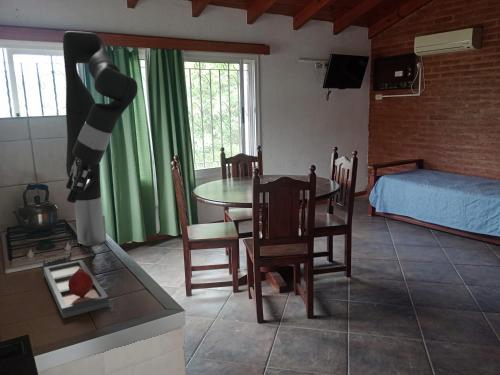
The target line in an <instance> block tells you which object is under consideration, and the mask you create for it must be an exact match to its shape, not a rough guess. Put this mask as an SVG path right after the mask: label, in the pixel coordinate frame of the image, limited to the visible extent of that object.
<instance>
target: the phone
mask: <svg viewBox="0 0 500 375" xmlns="http://www.w3.org/2000/svg"><path fill="white" fill-rule="evenodd" d="M69 262H71V257H70V256H69V257H67V258H63V259H58V260H55V261H52V262H47V263H44V262H43V264H42V271H43V272H44V267H49V266H54V265H59V264H64V263H69Z"/></svg>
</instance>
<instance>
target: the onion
mask: <svg viewBox="0 0 500 375" xmlns="http://www.w3.org/2000/svg"><path fill="white" fill-rule="evenodd" d="M68 286H69V291H70V292H71V293H72V294H74V295H76V296H79V297H84V296H85V295H86V294H87V293H88V292H89V291H90V290H91V289H92V286H93V281H92V278H91V276H90V275H89V274H88V273H86V272H84V271H83V270H82V268H79V269H78V270H77V271H76V272H75V273H74V274H73V275H72V276H71V278H70V280H69V283H68Z"/></svg>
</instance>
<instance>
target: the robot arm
mask: <svg viewBox="0 0 500 375" xmlns="http://www.w3.org/2000/svg"><path fill="white" fill-rule="evenodd" d="M62 47H63V48H62V50H63V51H62V52H63V62H64V73H65V117H66V118H65V120H66V121H65V122H66V138H67V139H66V159H65V160H66V161H65V167H66V168H65V169H66V175H67V177H68V180H67V183H66V189H68V190H69V193H68V195H67V198H66V200H67V202H68V203H72V204H74V214H75V224H76V225H75V226H76V235H77V237H76V238H77V244H78V243H79V244H83V245H87V246H86V247H93V246H99V245H101V244H103V243H104V242H105V241H106V240H107V232H106V231H107V230H106V219H105V218H106V216H105V215H103V208H102V204H103V203H102V195H101V168H100V166H101V164H100V163H101V161H102V159H103V156H104V155H105V152H106V150H107V148H108V145H109V143H110V141H111V136H112V133H113V131H114V129H115V126H116V124H117V123H118V120H119V118H120V117H121V116H122V115H123V113H124V112H125V110H126V109H127V108H128V107H129V106H130V105H131V104H132V102H133V101H134V100H135V98H136V97H137V94H138V82H137V81H136V79H135V78H133V77H131V76H129V75H127V74H124V73H122V72H121V71H120V68H119V67H118V66H117V64H116V63H115V62H114V61H113V60H112V59H111V58H110V55H109V54H108V50H107V49H106V46H105V44H104V42H103V40H102V38H101V37H100V35H98V34H97V33H94V32H87V31H76V30H66V31H65V32H64V34H63V38H62ZM78 64H88V65H87V67H88V68H87V69H88V72H89V73H90V76H91V77H92V78H93V80H94V83H93V84H94V90H95V91H96V92H97V93H98V94H100V95H101V96H104V97H106V98H109V99H111V100H112V101H111V102H110V103H101V102H100V103H99V102H96V101H95V98H94V97H93V95H92V93H91V92H90V91H89V89H88V87H86V85H85V84H84V82H83V80H82V79H81V77H80V75H79V72H78ZM79 183H80V184H79ZM78 184H79V185H78Z"/></svg>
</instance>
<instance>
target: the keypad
mask: <svg viewBox="0 0 500 375" xmlns="http://www.w3.org/2000/svg"><path fill="white" fill-rule="evenodd" d="M79 268H82V270H83V271H84V272H86V273H88V274H89V275H90V276H91V278H92V281H93V286H92V288H94V290H95V291H96V293H97V294H98V296H99V297H97V298H93V299H89V300H85V301H81V302H77V303H73V304H69V305H66V303H65V301H64V299H63V297H62V296H63V295H67V294H72V293H71V292H70V291H69V286H68V283H69V280H70V278H71V276H72V275H73V274H74V273H75V272H76V271H77V270H78V269H79ZM43 273H44V274H43V275H44V278H45V280H46V282H47V285H48V287H49V290H50V291H51V293H52V294H51V295H52V296H53V298H54V301H55V304H56V306H57V308H58V310H59V312H60V314H61V318H62V319H66V318H70V317H73V316H78V315H81V314H85V313H89V312H91V311H92V312H93V311H97V310H100V309H103V308H108V307H110V302H109V296H108V294H107V292H105V290H104V289H103V287H102V286H101V284H100V283H99V282H98V280H97V279H96V277H95V276H94V275H93V273H92V272H91V271H90V269H89V268H88V266H87V265H86V263H85V262H84V261H83V259H80V260H75V261H70V262H69V263H64V264H59V265H54V266H49V267H44V271H43Z"/></svg>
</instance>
